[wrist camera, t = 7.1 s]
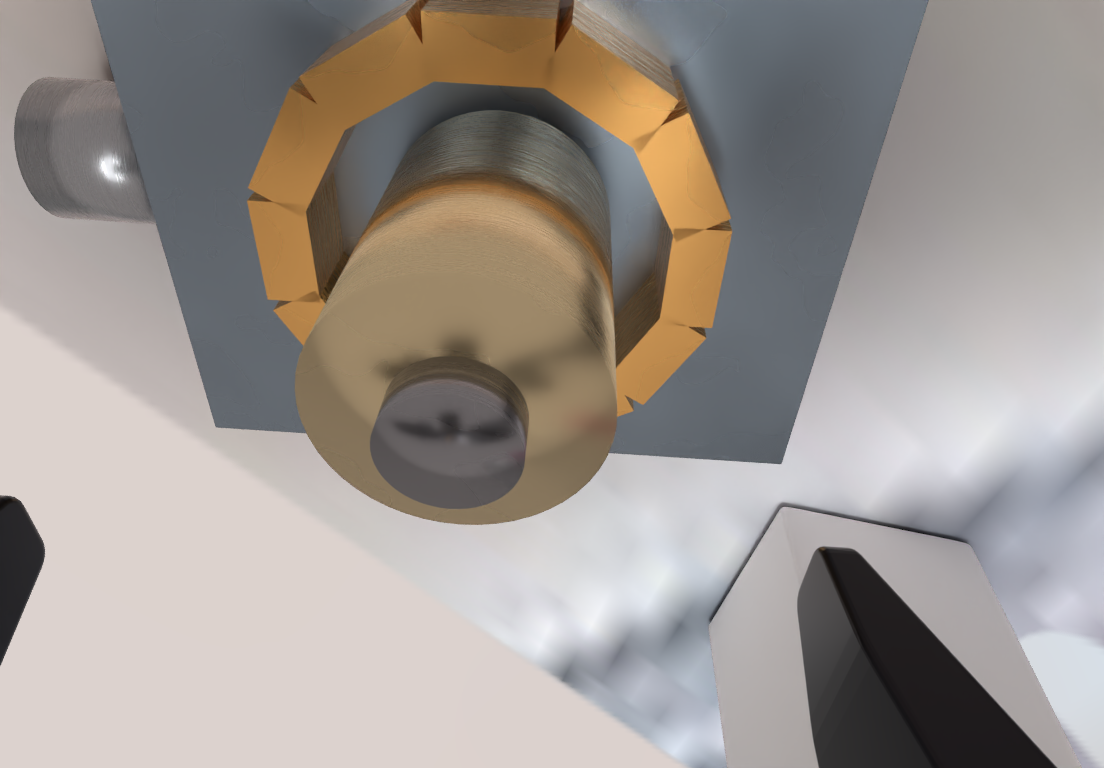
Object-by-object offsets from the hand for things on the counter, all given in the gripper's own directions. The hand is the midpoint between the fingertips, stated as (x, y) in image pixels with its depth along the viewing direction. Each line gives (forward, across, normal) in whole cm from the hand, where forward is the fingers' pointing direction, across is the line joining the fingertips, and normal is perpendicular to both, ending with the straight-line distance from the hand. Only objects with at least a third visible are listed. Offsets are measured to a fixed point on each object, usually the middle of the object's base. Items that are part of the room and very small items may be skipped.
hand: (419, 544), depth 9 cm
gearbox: (+13, +1, 0) cm, 13 cm away
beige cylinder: (+8, 0, 0) cm, 8 cm away
